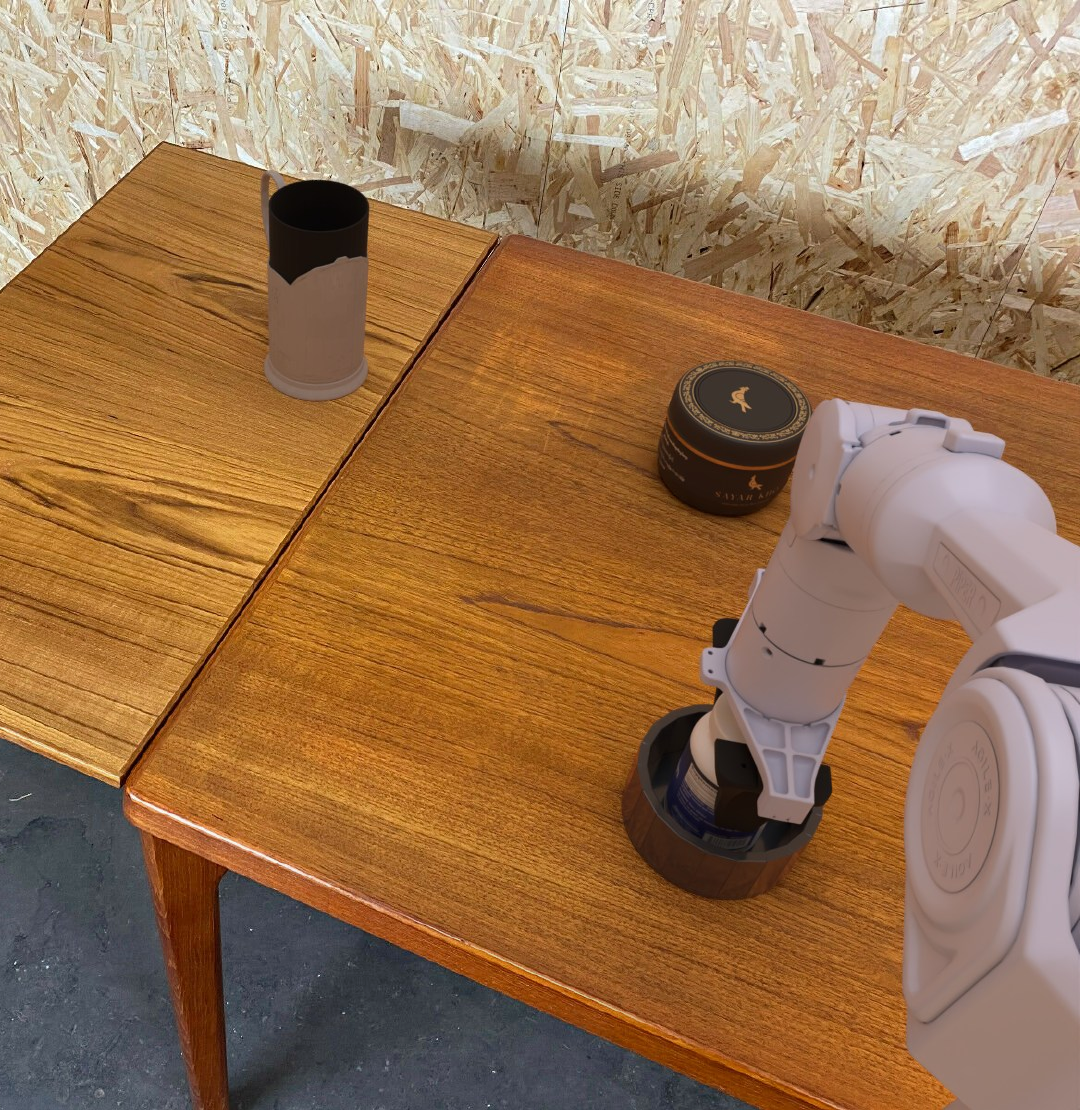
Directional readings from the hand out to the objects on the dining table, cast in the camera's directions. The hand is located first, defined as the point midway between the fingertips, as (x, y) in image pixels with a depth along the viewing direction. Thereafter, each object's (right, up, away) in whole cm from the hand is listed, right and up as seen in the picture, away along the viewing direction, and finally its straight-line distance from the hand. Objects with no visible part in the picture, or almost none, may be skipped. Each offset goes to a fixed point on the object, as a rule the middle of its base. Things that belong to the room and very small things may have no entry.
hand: (731, 774), depth 64 cm
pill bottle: (0, -3, +3) cm, 5 cm away
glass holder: (-25, +30, +33) cm, 51 cm away
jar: (+7, +18, +24) cm, 31 cm away
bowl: (0, -3, +4) cm, 5 cm away
